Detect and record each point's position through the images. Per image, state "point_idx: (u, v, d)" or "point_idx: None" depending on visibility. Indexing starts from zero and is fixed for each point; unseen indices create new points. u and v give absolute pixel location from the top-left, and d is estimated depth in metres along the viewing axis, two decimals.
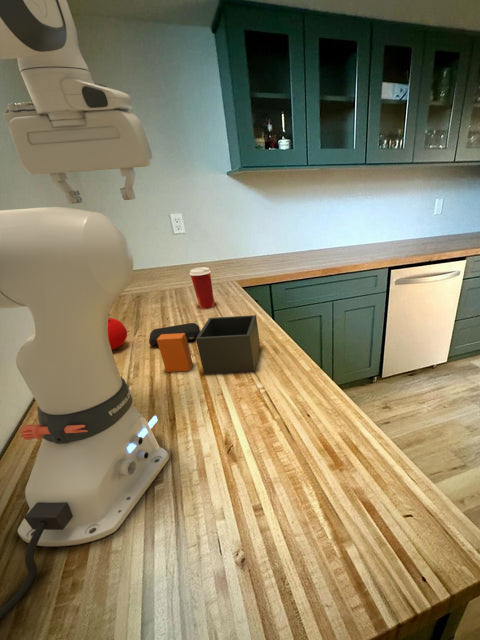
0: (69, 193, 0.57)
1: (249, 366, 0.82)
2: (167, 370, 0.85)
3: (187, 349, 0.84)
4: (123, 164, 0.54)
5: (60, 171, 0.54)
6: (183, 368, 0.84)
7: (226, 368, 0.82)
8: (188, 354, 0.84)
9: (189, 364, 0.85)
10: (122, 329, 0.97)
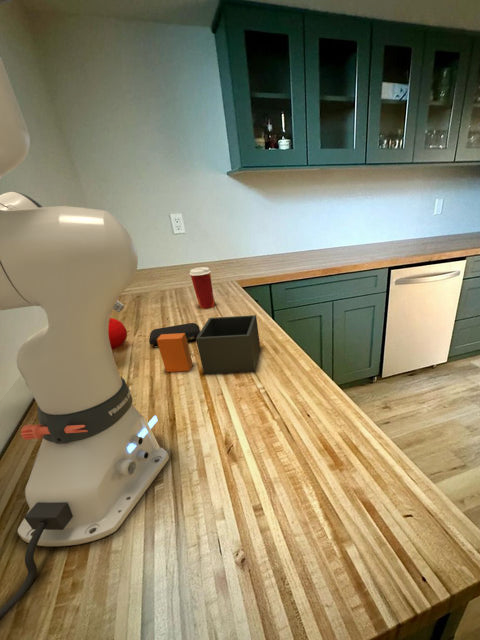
0: None
1: (249, 366, 0.82)
2: (167, 370, 0.85)
3: (187, 349, 0.84)
4: None
5: None
6: (183, 368, 0.84)
7: (226, 368, 0.82)
8: (188, 354, 0.84)
9: (189, 364, 0.85)
10: (122, 329, 0.97)
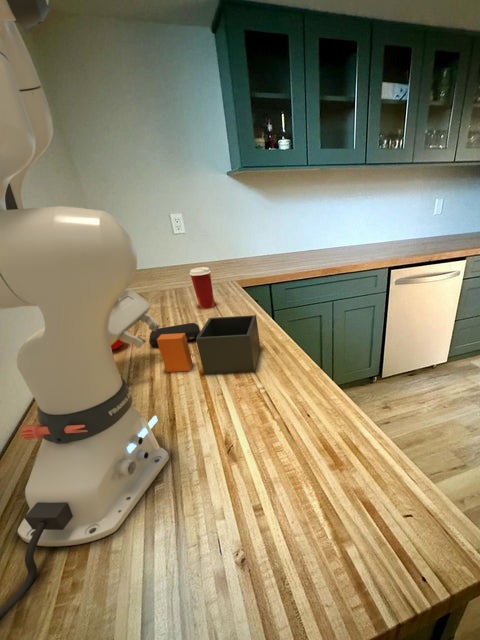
0: (138, 337, 0.77)
1: (249, 366, 0.82)
2: (167, 370, 0.85)
3: (187, 349, 0.84)
4: (145, 308, 0.85)
5: (127, 325, 0.76)
6: (183, 368, 0.84)
7: (226, 368, 0.82)
8: (188, 354, 0.84)
9: (189, 364, 0.85)
10: None
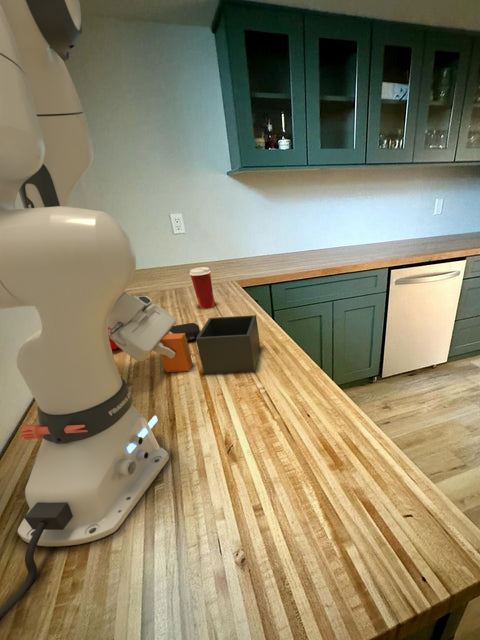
0: (170, 348, 0.81)
1: (249, 366, 0.82)
2: (167, 370, 0.85)
3: (187, 349, 0.84)
4: (171, 323, 0.87)
5: (157, 341, 0.78)
6: (183, 368, 0.84)
7: (226, 368, 0.82)
8: (188, 354, 0.84)
9: (189, 364, 0.85)
10: None
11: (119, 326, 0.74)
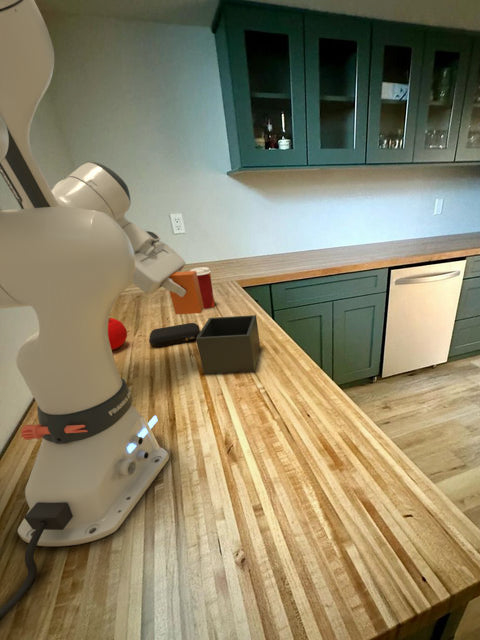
0: (181, 286, 0.75)
1: (249, 366, 0.82)
2: (176, 312, 0.78)
3: (198, 289, 0.78)
4: (181, 263, 0.81)
5: (167, 276, 0.72)
6: (194, 310, 0.78)
7: (226, 368, 0.82)
8: (199, 295, 0.78)
9: (200, 306, 0.79)
10: (122, 329, 0.97)
11: None
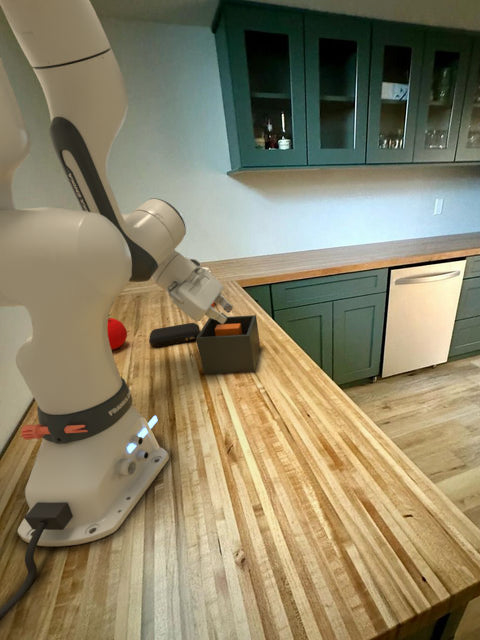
0: (222, 313, 0.78)
1: (249, 366, 0.82)
2: None
3: None
4: (220, 288, 0.85)
5: (211, 303, 0.76)
6: None
7: (226, 368, 0.82)
8: None
9: None
10: (122, 329, 0.97)
11: (175, 285, 0.73)
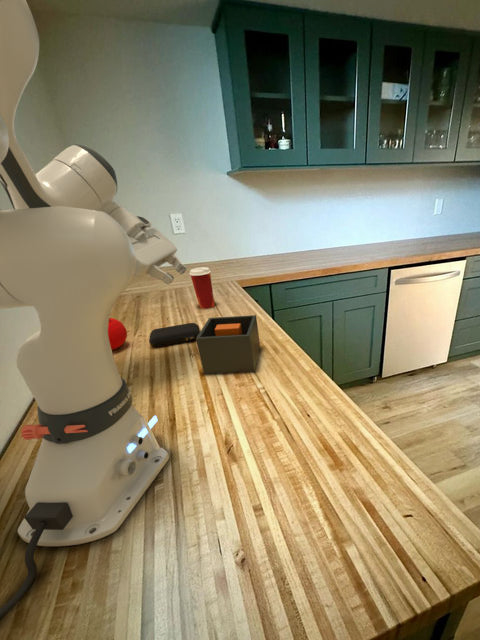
0: (167, 273, 0.72)
1: (249, 366, 0.82)
2: None
3: None
4: (172, 249, 0.81)
5: (156, 260, 0.72)
6: None
7: (226, 368, 0.82)
8: None
9: None
10: (122, 329, 0.97)
11: None
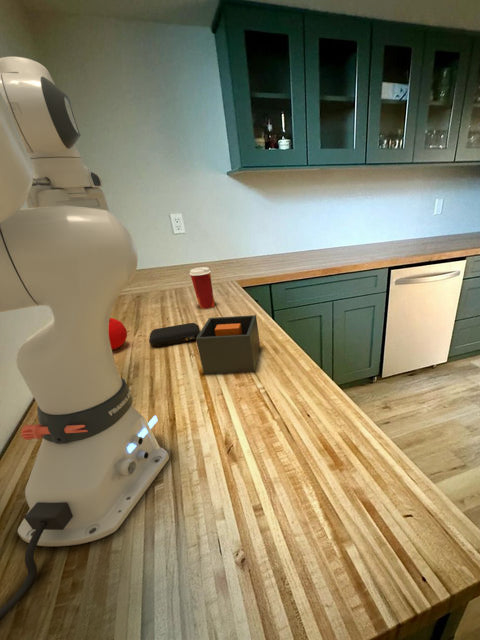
0: None
1: (249, 366, 0.82)
2: None
3: None
4: None
5: None
6: None
7: (226, 368, 0.82)
8: None
9: None
10: (122, 329, 0.97)
11: (45, 183, 0.58)
